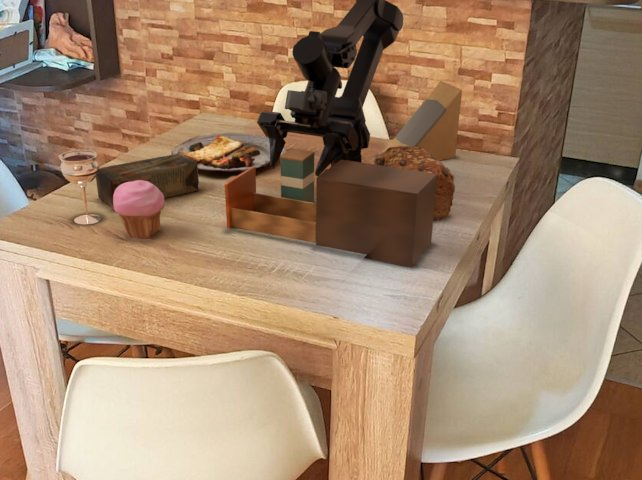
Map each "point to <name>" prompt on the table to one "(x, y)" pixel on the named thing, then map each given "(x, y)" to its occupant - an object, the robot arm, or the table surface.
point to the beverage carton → (150, 176)
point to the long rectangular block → (297, 175)
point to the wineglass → (81, 176)
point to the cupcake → (139, 207)
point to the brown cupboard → (375, 211)
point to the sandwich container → (434, 123)
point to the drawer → (267, 210)
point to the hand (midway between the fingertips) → (294, 171)
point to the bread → (425, 163)
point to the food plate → (227, 151)
